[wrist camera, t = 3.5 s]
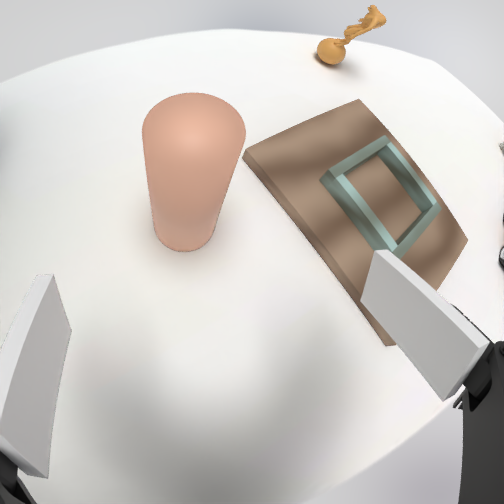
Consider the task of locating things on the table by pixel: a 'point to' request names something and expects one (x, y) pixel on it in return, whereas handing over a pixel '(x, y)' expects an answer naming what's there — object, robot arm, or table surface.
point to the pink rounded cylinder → (190, 165)
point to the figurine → (349, 37)
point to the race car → (502, 253)
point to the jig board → (358, 198)
